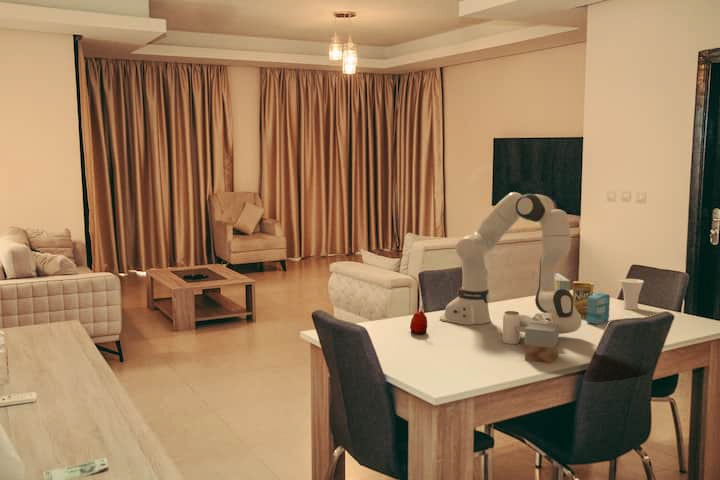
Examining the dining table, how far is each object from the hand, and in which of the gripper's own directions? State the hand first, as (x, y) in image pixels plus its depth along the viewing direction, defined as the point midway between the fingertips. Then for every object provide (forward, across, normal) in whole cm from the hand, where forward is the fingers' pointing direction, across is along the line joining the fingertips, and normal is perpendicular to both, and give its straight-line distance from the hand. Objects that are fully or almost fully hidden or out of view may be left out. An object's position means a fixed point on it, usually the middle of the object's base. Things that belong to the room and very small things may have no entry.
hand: (510, 326), depth 277 cm
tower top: (-2, +22, +1) cm, 22 cm away
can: (0, 0, +7) cm, 7 cm away
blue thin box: (-52, -20, +7) cm, 56 cm away
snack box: (-50, -50, +7) cm, 71 cm away
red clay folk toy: (+30, -22, +7) cm, 38 cm away
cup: (-81, -38, +7) cm, 90 cm away
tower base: (-2, +22, +7) cm, 23 cm away
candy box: (-52, -33, +7) cm, 62 cm away
